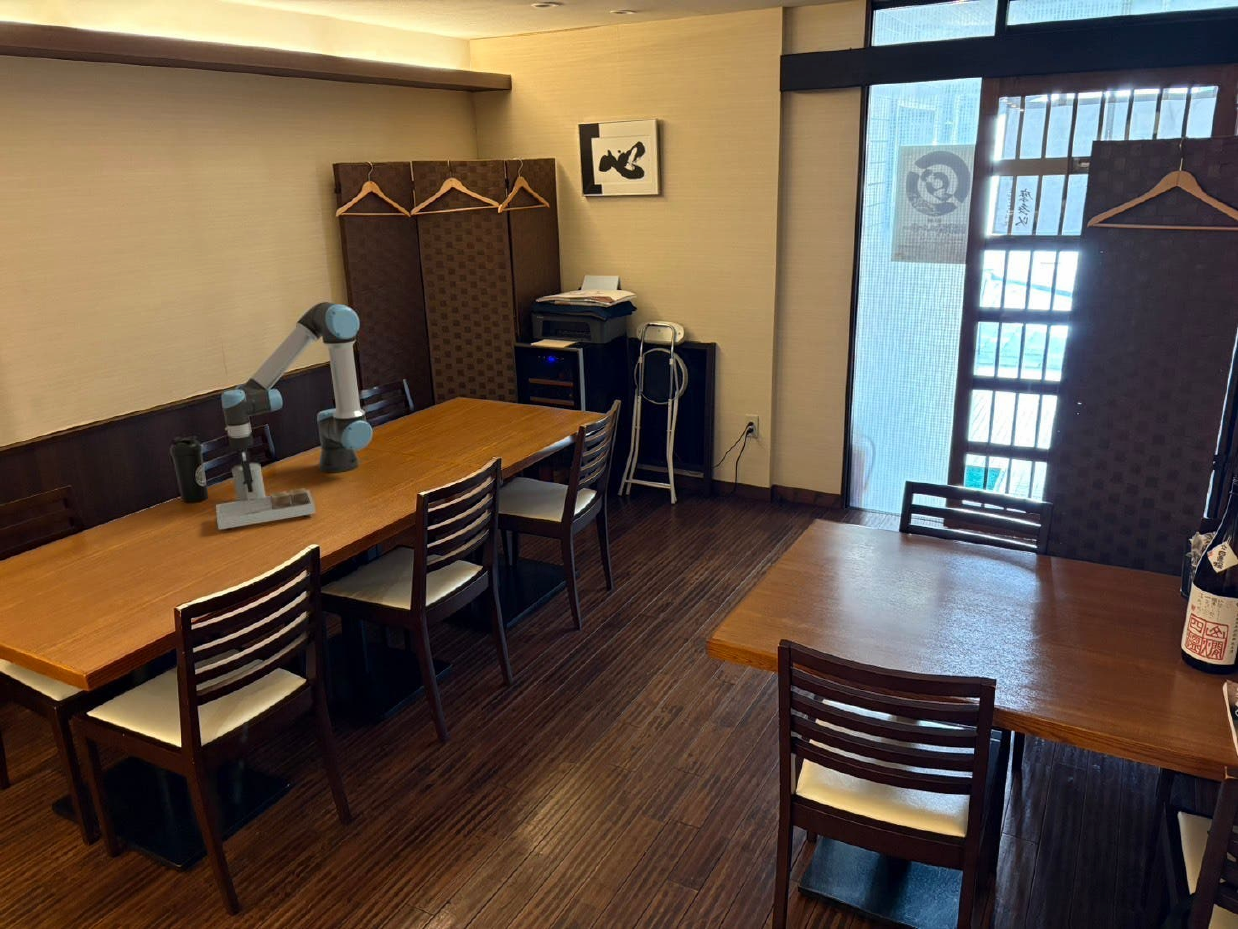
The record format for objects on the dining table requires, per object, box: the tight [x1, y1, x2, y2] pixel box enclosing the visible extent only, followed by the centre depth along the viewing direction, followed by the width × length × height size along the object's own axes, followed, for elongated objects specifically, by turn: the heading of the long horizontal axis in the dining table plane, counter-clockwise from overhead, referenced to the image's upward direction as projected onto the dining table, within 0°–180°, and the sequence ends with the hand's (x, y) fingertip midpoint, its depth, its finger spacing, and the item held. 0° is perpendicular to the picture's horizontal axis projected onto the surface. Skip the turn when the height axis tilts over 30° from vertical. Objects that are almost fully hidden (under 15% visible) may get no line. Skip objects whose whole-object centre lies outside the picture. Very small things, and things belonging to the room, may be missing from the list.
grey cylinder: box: [231, 462, 267, 501], centre depth 316 cm, size 10×10×12 cm
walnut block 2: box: [289, 488, 308, 506], centre depth 305 cm, size 5×5×5 cm
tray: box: [215, 489, 316, 531], centre depth 302 cm, size 30×15×5 cm, turn 114°
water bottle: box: [169, 435, 209, 505], centre depth 318 cm, size 10×10×23 cm
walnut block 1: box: [269, 490, 291, 509], centre depth 303 cm, size 5×5×5 cm
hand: (251, 495), depth 317 cm, fingers closed on grey cylinder, 9 cm apart
